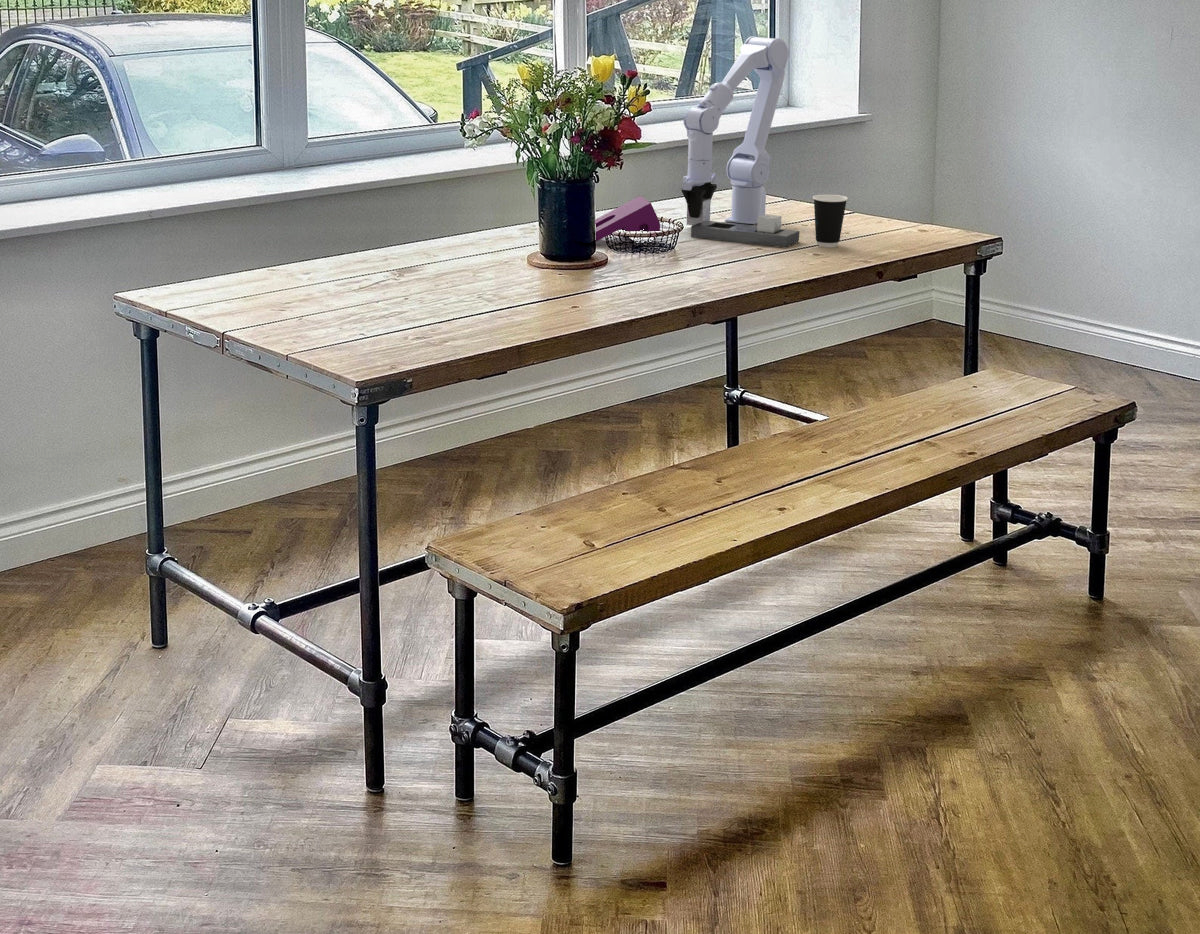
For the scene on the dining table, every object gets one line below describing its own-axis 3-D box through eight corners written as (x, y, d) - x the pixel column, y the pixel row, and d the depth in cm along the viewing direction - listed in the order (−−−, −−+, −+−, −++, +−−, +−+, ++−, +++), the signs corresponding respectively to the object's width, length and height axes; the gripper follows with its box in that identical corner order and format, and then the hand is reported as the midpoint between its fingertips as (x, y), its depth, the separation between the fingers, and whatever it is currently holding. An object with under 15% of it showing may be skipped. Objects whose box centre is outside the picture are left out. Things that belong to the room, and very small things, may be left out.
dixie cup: (851, 246, 330) (855, 198, 326) (826, 250, 325) (829, 201, 322) (828, 240, 336) (831, 193, 332) (802, 243, 332) (805, 196, 328)
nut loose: (694, 221, 350) (694, 197, 348) (709, 223, 348) (710, 198, 346) (686, 224, 347) (687, 199, 344) (702, 226, 345) (703, 201, 343)
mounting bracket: (596, 271, 330) (665, 235, 331) (581, 239, 326) (650, 202, 327) (587, 262, 339) (654, 227, 339) (572, 231, 335) (640, 195, 336)
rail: (705, 231, 345) (705, 220, 344) (798, 241, 334) (799, 230, 333) (691, 236, 338) (691, 225, 337) (785, 247, 327) (786, 236, 326)
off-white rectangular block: (763, 239, 336) (764, 214, 334) (780, 241, 334) (781, 216, 332) (756, 243, 333) (757, 217, 330) (773, 244, 331) (774, 218, 328)
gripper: (698, 153, 350) (696, 209, 354) (671, 161, 338) (670, 219, 343) (724, 155, 346) (722, 212, 351) (698, 164, 335) (697, 222, 339)
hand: (698, 215), depth 347 cm, fingers closed on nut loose, 4 cm apart
